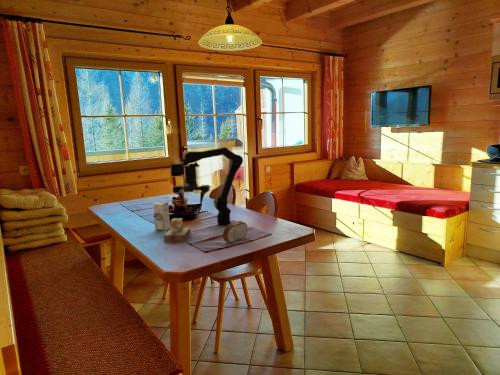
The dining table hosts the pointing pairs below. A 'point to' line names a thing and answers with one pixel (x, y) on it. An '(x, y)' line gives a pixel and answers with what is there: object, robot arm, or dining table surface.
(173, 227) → the block
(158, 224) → the syrup box
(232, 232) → the tin
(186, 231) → the plinth
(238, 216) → the dining table surface
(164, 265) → the dining table surface
